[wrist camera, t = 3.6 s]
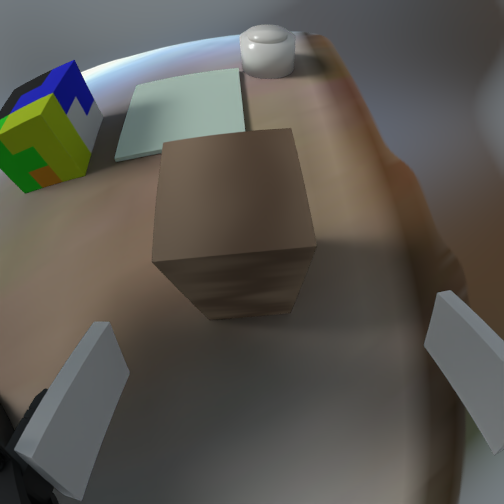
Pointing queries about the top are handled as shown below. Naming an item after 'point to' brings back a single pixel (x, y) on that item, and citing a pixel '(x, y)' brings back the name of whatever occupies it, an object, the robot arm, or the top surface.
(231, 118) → the pad
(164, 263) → the walnut block
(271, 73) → the sugar bowl
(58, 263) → the top surface
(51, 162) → the puzzle toy
